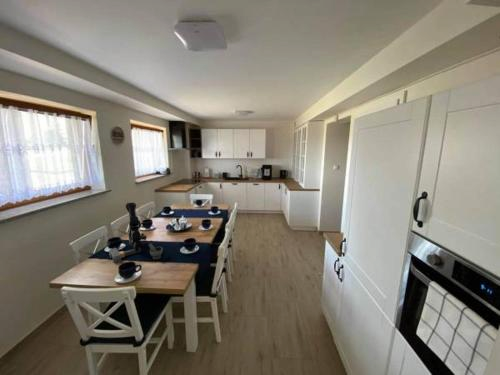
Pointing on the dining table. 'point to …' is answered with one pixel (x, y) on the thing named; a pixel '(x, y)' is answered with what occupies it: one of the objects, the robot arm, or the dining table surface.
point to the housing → (115, 255)
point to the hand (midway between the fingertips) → (136, 250)
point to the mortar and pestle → (155, 251)
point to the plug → (129, 252)
